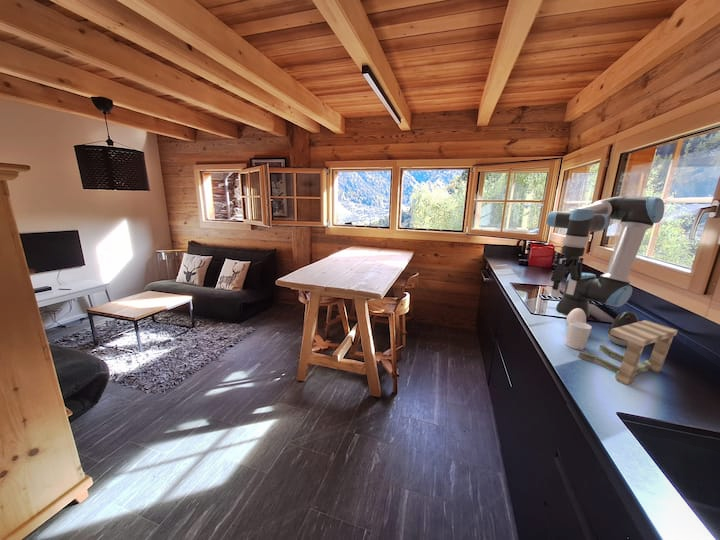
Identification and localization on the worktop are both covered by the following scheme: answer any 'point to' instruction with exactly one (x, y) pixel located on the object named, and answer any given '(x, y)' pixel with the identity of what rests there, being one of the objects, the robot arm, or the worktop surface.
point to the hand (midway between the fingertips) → (562, 295)
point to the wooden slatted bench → (636, 349)
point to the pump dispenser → (620, 321)
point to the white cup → (577, 334)
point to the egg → (576, 316)
